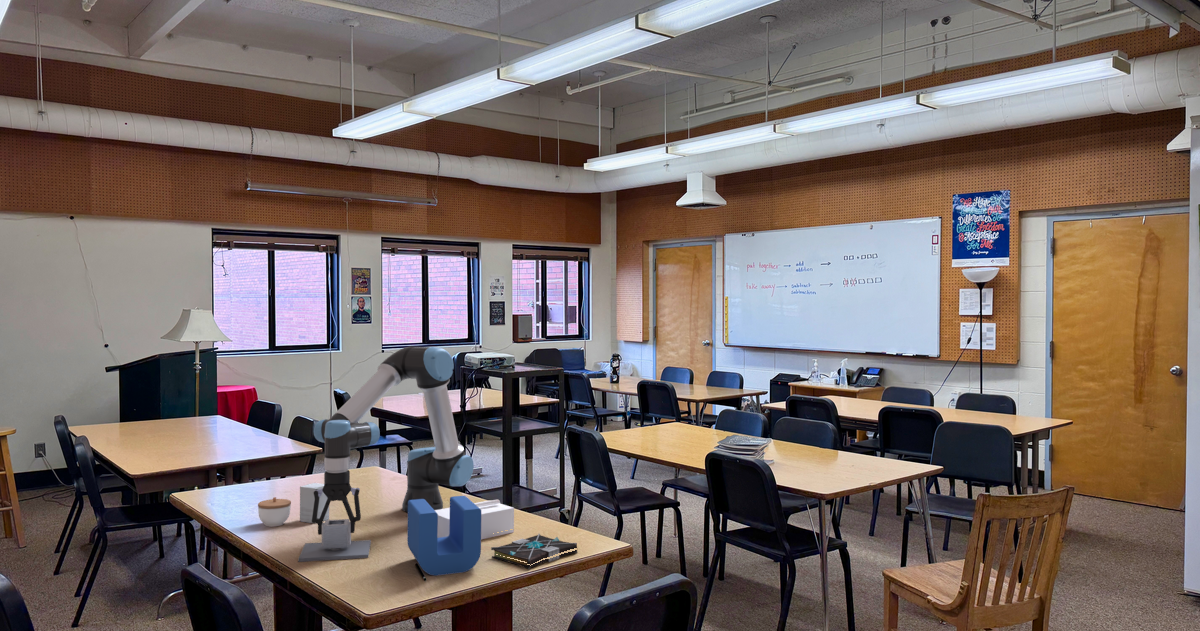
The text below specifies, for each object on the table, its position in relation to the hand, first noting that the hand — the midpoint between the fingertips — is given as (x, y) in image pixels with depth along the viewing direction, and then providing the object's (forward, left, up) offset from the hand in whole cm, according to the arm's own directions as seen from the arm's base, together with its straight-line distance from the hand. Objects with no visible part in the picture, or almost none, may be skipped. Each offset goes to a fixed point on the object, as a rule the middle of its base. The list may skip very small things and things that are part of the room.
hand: (336, 544), depth 245 cm
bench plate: (0, 0, -2) cm, 2 cm away
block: (-32, +19, -3) cm, 37 cm away
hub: (0, 0, 0) cm, 0 cm away
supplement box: (+11, -41, -3) cm, 42 cm away
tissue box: (-42, -12, -3) cm, 44 cm away
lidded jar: (+24, -38, -3) cm, 45 cm away
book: (-60, +15, -3) cm, 62 cm away
